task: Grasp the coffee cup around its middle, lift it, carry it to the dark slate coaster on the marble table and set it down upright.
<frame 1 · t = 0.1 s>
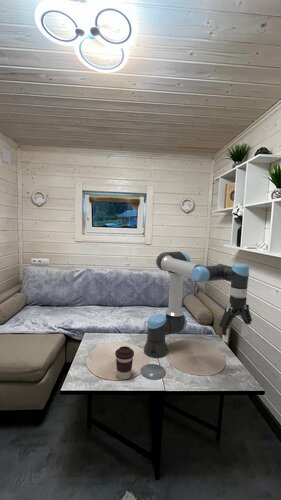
hand: (234, 338, 122), 28 cm above the table, fingers open, 13 cm apart
coffee cup: (123, 375, 135), on the table
coaster: (153, 371, 139), on the table
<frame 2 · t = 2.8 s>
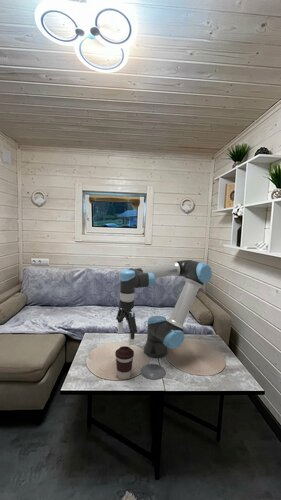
hand: (125, 338, 133), 21 cm above the table, fingers open, 13 cm apart
nothing on the table moved.
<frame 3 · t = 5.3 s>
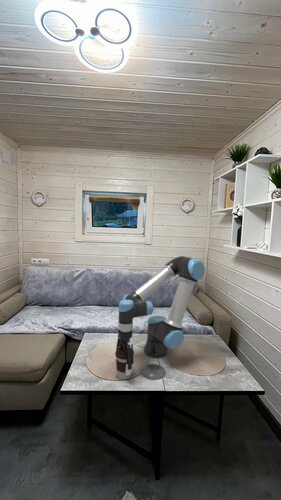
hand: (124, 369, 135), 4 cm above the table, fingers closed on coffee cup, 10 cm apart
coffee cup: (123, 375, 135), on the table, touching gripper
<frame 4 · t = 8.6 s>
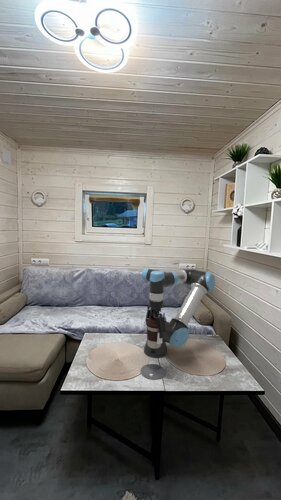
hand: (154, 339, 137), 19 cm above the table, fingers closed on coffee cup, 10 cm apart
coffee cup: (154, 345, 138), point 15 cm above the table, touching gripper
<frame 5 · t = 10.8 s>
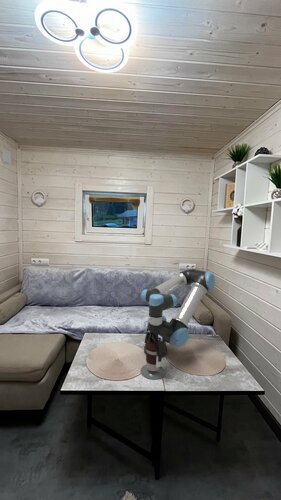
hand: (153, 361, 139), 6 cm above the table, fingers closed on coffee cup, 10 cm apart
coffee cup: (153, 368, 139), point 2 cm above the table, touching gripper
when the fingers open (6 cm above the table, at t = 11.9 s): coffee cup drops 1 cm, resting on coaster.
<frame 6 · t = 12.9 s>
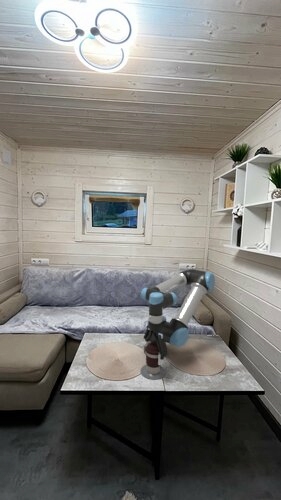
hand: (153, 358, 139), 8 cm above the table, fingers open, 13 cm apart
coffee cup: (153, 371, 139), resting on coaster
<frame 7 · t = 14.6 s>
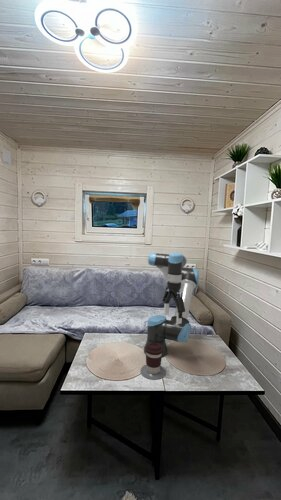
hand: (172, 318, 139), 30 cm above the table, fingers open, 13 cm apart
nothing on the table moved.
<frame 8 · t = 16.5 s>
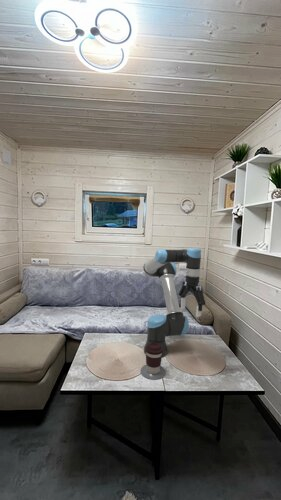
hand: (190, 312, 142), 33 cm above the table, fingers open, 13 cm apart
nothing on the table moved.
at the end: coffee cup 0.1 cm from the coaster (horizontally); coffee cup tilted 0°; the gripper is holding nothing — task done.
